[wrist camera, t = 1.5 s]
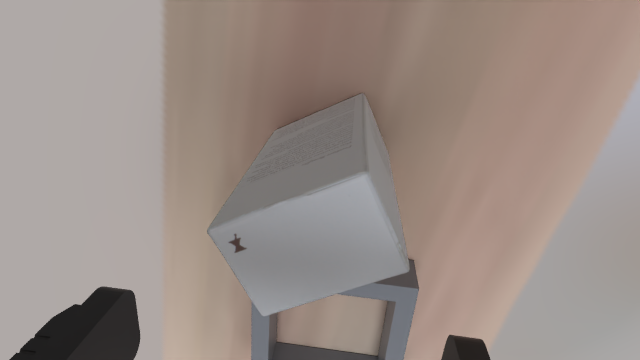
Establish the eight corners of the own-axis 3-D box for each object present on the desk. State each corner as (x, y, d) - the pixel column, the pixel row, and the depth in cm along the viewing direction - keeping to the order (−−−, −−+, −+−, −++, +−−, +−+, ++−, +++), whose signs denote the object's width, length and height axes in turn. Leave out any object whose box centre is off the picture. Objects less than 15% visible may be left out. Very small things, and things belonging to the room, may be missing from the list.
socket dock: (263, 241, 28) (252, 267, 25) (413, 260, 27) (418, 288, 24) (261, 351, 32) (251, 383, 29) (391, 369, 31) (393, 404, 29)
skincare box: (303, 187, 26) (257, 321, 15) (273, 129, 24) (198, 229, 14) (392, 154, 24) (414, 276, 13) (366, 89, 23) (366, 166, 12)
